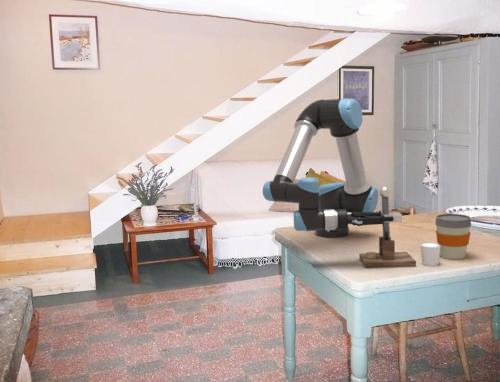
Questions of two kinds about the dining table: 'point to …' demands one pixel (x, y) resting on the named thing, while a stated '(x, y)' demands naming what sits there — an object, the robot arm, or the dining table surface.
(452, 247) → the reusable coffee cup
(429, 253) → the white cylinder
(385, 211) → the lever
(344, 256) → the dining table surface
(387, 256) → the lever stand
